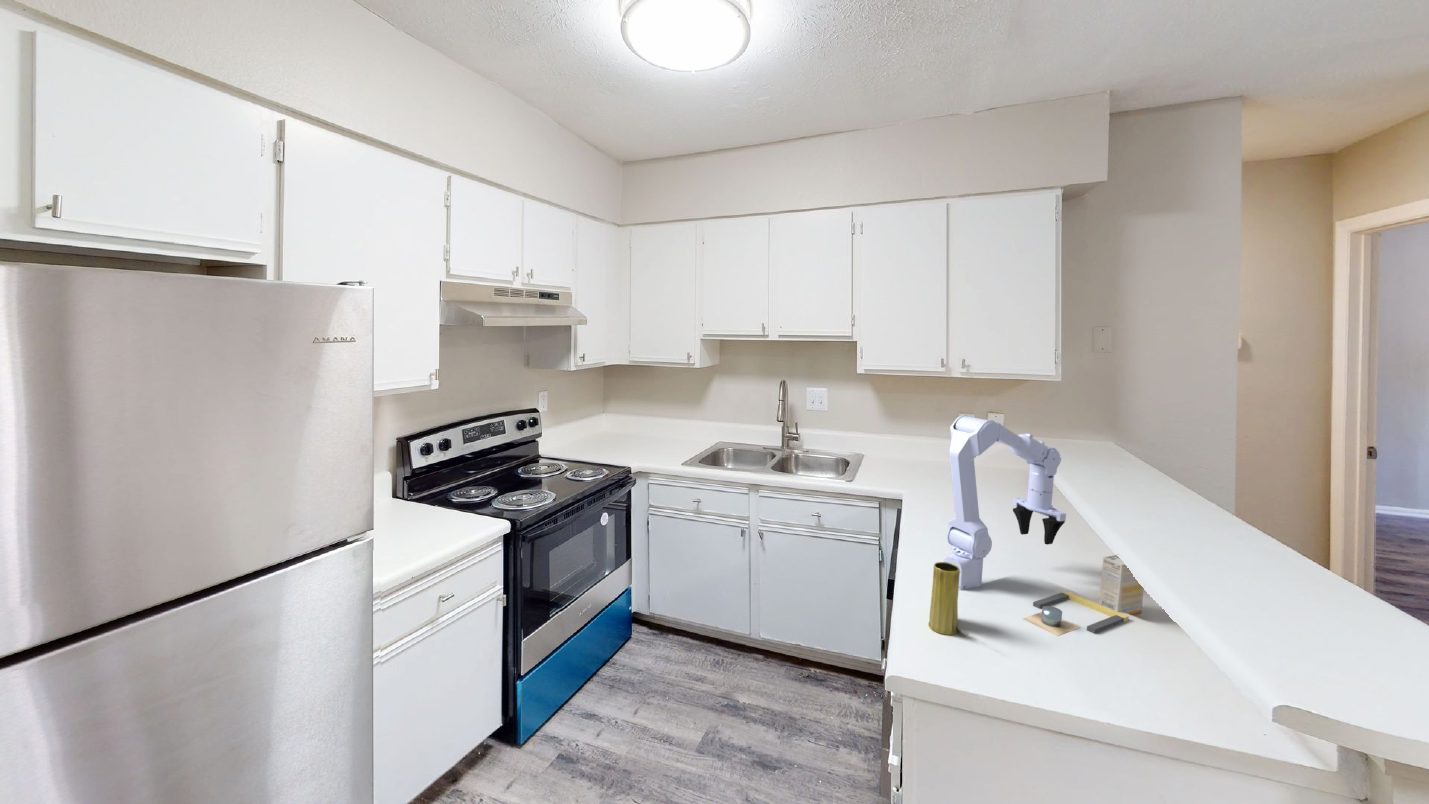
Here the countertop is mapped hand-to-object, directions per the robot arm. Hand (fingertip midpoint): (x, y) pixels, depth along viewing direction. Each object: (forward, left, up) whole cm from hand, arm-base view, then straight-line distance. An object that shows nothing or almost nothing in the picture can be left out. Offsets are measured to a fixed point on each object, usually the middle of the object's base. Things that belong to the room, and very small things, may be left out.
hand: (1036, 538), depth 152 cm
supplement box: (-1, -22, -10) cm, 25 cm away
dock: (-14, -20, -10) cm, 27 cm away
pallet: (-24, -20, -10) cm, 33 cm away
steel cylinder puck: (-24, -20, -8) cm, 33 cm away
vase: (-45, -9, -10) cm, 47 cm away
